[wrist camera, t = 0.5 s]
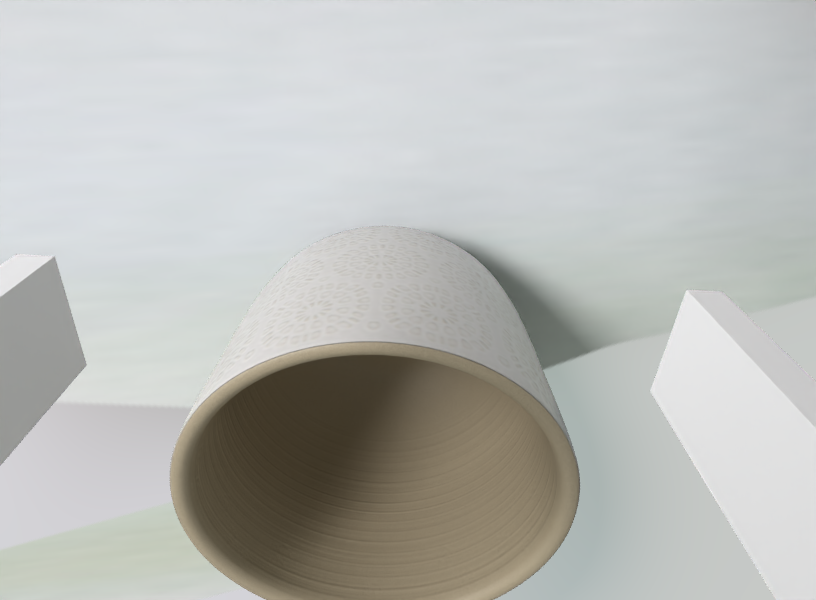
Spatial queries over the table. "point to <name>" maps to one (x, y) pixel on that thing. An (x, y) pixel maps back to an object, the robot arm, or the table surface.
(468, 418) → the planter
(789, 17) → the table surface
